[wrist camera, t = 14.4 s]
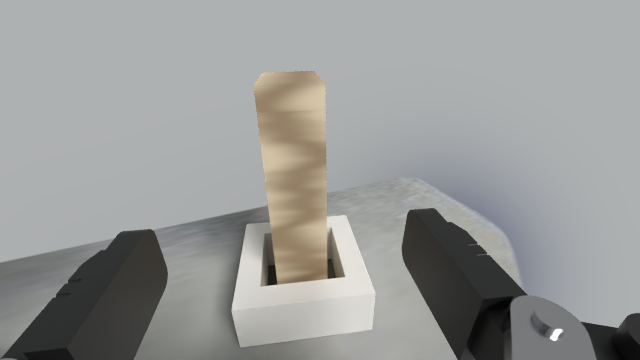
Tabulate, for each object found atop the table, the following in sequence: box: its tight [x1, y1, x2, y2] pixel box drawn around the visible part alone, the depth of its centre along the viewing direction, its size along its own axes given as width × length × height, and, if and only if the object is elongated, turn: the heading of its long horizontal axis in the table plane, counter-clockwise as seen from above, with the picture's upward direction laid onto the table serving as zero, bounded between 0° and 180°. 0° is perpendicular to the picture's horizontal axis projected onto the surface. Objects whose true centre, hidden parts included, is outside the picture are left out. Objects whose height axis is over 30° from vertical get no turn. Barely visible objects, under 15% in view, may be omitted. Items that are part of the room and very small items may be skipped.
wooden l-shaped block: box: [254, 71, 327, 285], centre depth 23 cm, size 4×7×18 cm, turn 7°
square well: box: [231, 215, 376, 348], centre depth 25 cm, size 10×10×4 cm
